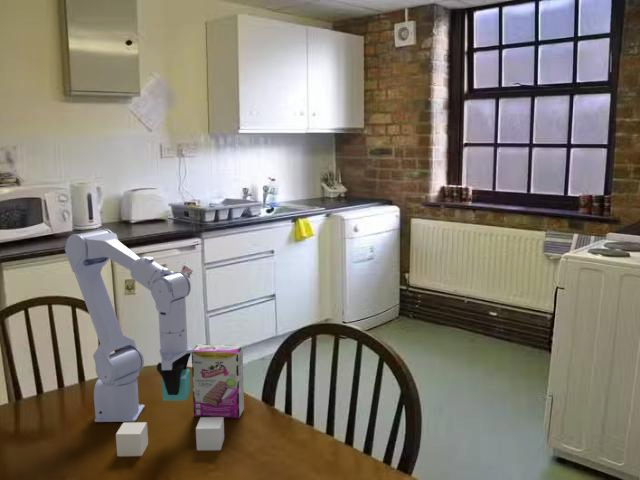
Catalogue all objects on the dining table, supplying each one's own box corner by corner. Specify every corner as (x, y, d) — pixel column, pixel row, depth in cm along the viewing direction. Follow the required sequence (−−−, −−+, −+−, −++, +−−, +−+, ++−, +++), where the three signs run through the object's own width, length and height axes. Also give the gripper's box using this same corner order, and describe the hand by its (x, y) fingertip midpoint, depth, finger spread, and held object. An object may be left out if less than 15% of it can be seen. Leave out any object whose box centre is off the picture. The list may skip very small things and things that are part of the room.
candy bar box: (193, 417, 140) (190, 350, 137) (199, 408, 145) (196, 343, 142) (240, 419, 139) (238, 352, 136) (245, 409, 144) (243, 344, 141)
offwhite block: (117, 456, 124) (115, 434, 123) (124, 444, 129) (123, 422, 128) (141, 456, 124) (140, 434, 123) (148, 444, 129) (146, 422, 128)
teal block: (162, 400, 129) (161, 378, 128) (168, 390, 134) (167, 369, 133) (186, 400, 129) (185, 378, 128) (190, 390, 134) (189, 369, 133)
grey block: (196, 450, 126) (195, 428, 125) (201, 438, 131) (200, 417, 130) (220, 450, 126) (219, 428, 125) (224, 438, 131) (223, 417, 130)
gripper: (184, 340, 122) (187, 403, 124) (198, 318, 136) (200, 375, 138) (149, 341, 122) (153, 403, 124) (167, 318, 136) (170, 375, 138)
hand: (176, 388), depth 131 cm, fingers closed on teal block, 5 cm apart
